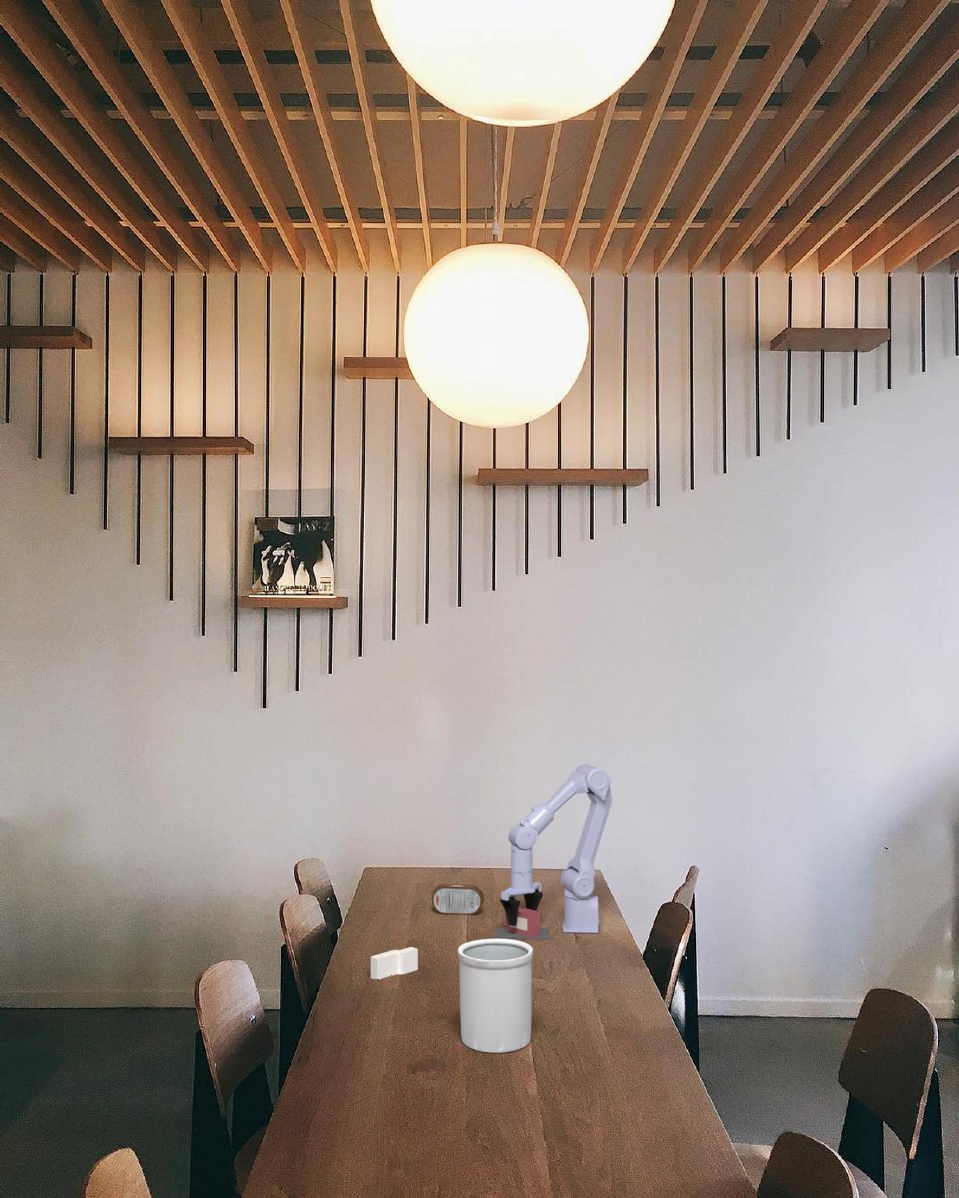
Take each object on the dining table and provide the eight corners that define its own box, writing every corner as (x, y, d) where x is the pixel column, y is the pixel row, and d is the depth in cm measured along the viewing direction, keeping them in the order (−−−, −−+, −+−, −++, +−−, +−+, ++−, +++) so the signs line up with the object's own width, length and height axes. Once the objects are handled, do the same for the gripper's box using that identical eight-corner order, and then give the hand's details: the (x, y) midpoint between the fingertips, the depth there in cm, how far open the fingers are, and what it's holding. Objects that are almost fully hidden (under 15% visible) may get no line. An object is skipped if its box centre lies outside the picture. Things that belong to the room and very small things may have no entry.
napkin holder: (364, 985, 222) (365, 960, 222) (365, 968, 233) (365, 944, 233) (430, 983, 224) (430, 957, 224) (427, 966, 235) (427, 942, 235)
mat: (548, 930, 263) (548, 928, 263) (547, 939, 255) (547, 937, 255) (496, 928, 264) (496, 927, 264) (494, 937, 256) (494, 936, 256)
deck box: (514, 927, 264) (514, 905, 264) (540, 934, 258) (540, 911, 258) (505, 930, 261) (505, 908, 261) (531, 937, 255) (531, 914, 255)
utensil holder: (446, 1030, 195) (446, 942, 196) (513, 1019, 201) (513, 933, 202) (475, 1060, 181) (475, 964, 182) (546, 1047, 187) (546, 954, 188)
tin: (484, 913, 280) (484, 883, 280) (483, 916, 277) (483, 886, 277) (432, 911, 281) (432, 882, 282) (430, 914, 278) (430, 884, 279)
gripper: (515, 878, 252) (515, 931, 252) (550, 868, 263) (550, 919, 262) (495, 873, 257) (495, 925, 256) (530, 864, 268) (530, 914, 267)
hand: (521, 922), depth 260 cm, fingers open, 7 cm apart
